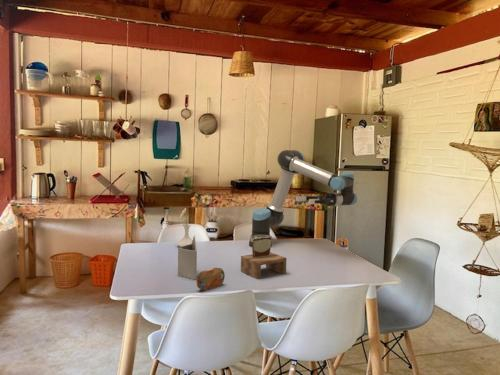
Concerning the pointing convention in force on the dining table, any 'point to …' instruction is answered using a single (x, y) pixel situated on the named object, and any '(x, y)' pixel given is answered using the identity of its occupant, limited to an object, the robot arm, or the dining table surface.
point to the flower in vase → (186, 239)
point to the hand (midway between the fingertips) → (302, 200)
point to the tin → (210, 278)
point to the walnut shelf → (253, 265)
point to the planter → (187, 260)
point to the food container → (261, 245)
